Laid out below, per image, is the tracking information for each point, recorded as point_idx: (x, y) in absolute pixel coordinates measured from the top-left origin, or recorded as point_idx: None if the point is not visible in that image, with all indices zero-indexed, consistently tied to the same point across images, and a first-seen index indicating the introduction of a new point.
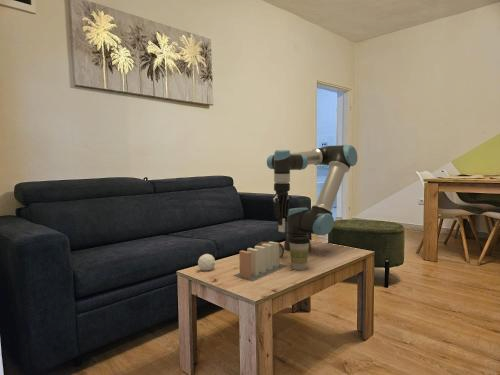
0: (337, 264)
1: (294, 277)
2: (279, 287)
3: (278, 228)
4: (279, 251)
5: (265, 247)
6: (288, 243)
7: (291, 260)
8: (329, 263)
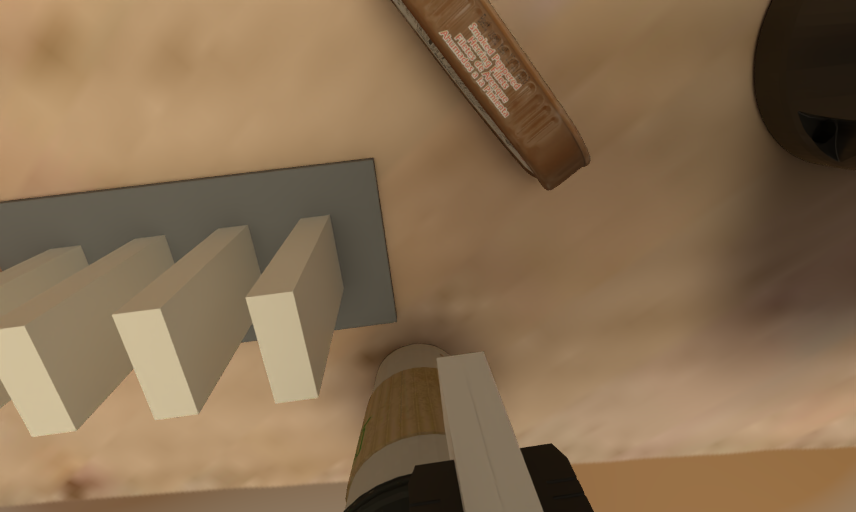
0: (639, 452)
1: (292, 440)
2: (124, 480)
3: (442, 388)
4: (521, 157)
5: (71, 431)
6: (834, 12)
7: (372, 398)
8: (630, 419)
